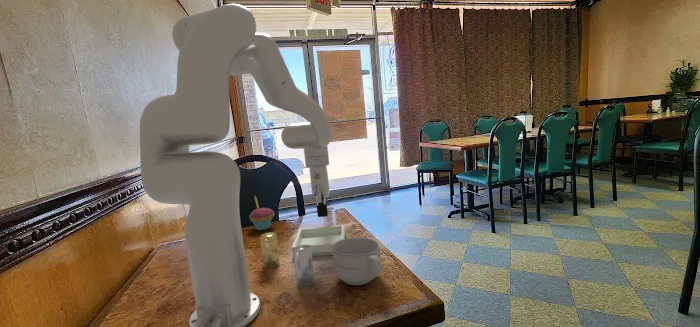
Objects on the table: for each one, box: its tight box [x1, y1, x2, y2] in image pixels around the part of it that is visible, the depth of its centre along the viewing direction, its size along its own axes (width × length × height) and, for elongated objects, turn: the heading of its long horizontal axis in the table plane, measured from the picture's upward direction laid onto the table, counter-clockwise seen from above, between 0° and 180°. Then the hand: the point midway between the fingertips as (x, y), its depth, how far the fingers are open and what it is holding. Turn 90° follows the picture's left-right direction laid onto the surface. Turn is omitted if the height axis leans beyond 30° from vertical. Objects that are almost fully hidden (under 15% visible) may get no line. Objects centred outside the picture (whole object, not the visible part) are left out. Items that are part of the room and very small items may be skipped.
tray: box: [291, 224, 346, 259], centre depth 88 cm, size 14×14×3 cm
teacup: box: [332, 236, 383, 286], centre depth 66 cm, size 14×11×8 cm
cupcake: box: [248, 194, 275, 231], centre depth 107 cm, size 9×8×12 cm
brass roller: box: [259, 231, 281, 270], centre depth 77 cm, size 4×4×8 cm
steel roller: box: [292, 245, 315, 288], centre depth 68 cm, size 4×4×8 cm
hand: (322, 215), depth 99 cm, fingers closed
